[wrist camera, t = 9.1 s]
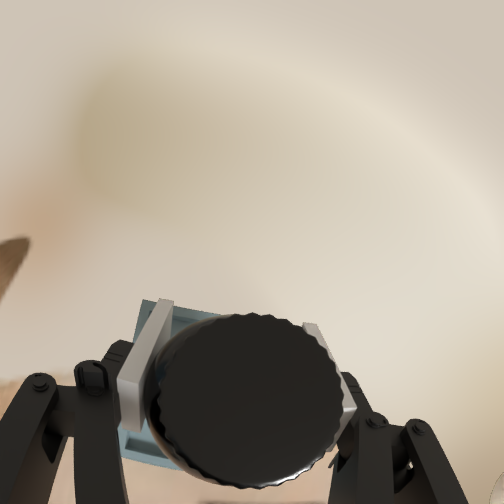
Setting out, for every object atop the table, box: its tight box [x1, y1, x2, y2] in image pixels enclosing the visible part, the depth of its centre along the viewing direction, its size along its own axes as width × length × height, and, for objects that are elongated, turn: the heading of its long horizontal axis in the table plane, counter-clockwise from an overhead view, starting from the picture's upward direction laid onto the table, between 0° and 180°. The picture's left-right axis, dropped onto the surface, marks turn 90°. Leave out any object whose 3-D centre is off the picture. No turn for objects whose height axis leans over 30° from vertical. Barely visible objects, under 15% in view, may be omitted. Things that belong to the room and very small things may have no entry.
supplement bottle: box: [144, 312, 344, 490], centre depth 12 cm, size 7×7×12 cm
